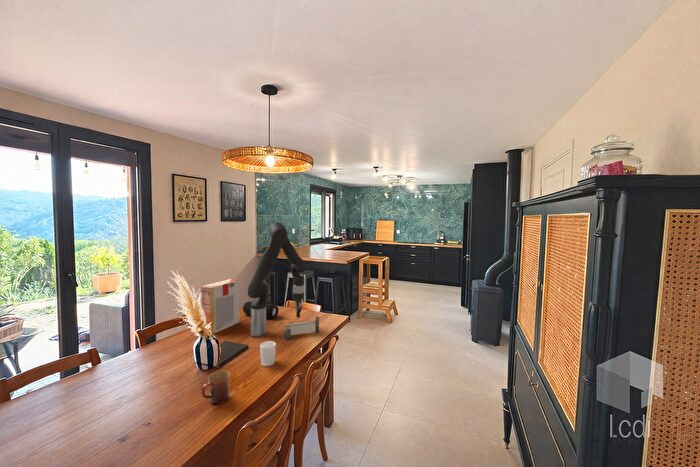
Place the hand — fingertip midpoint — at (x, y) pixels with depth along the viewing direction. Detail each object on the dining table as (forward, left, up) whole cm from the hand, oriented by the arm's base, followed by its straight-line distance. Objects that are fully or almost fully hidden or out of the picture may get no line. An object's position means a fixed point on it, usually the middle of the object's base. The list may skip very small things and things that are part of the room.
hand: (298, 317), depth 191 cm
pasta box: (-48, +21, -9) cm, 53 cm away
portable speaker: (-21, +34, -9) cm, 41 cm away
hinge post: (+11, -8, -9) cm, 16 cm away
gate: (0, -8, -8) cm, 11 cm away
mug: (-46, -61, -9) cm, 77 cm away
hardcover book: (-45, -20, -9) cm, 51 cm away
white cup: (-23, -37, -9) cm, 45 cm away
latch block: (-9, -11, -9) cm, 17 cm away
